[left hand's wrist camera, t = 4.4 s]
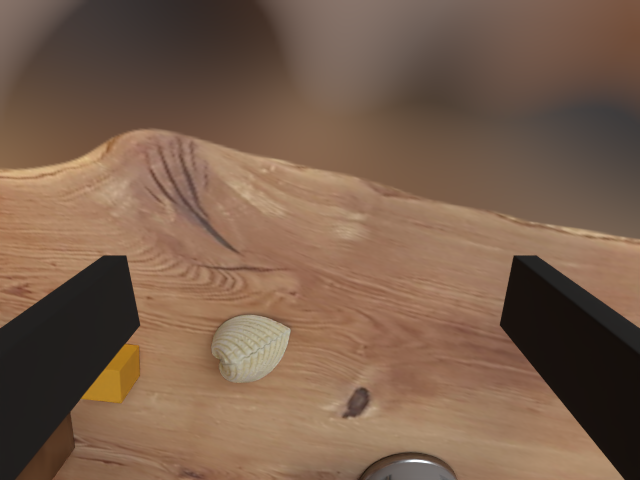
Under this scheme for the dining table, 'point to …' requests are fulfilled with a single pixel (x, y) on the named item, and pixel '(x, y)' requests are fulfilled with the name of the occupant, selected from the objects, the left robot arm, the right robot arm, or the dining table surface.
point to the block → (116, 377)
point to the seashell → (249, 347)
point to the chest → (51, 454)
